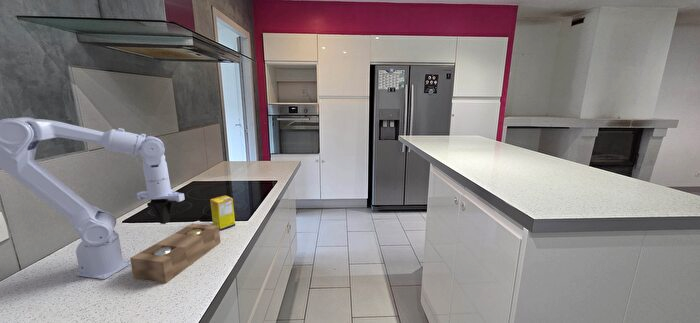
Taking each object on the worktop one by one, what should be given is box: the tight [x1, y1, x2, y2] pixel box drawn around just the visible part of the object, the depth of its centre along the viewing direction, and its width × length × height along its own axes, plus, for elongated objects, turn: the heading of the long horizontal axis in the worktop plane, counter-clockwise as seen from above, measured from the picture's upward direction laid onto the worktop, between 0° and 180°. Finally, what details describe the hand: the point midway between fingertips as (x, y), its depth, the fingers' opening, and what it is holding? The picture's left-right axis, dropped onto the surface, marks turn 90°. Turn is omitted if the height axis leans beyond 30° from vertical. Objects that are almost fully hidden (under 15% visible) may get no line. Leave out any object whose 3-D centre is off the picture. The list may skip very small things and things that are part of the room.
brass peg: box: [187, 229, 202, 235], centre depth 90 cm, size 4×4×6 cm
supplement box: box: [210, 195, 236, 232], centre depth 106 cm, size 6×6×11 cm
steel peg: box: [154, 247, 171, 256], centre depth 78 cm, size 4×4×6 cm
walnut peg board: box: [129, 223, 221, 284], centre depth 84 cm, size 10×22×6 cm, turn 169°
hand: (165, 222), depth 85 cm, fingers closed
